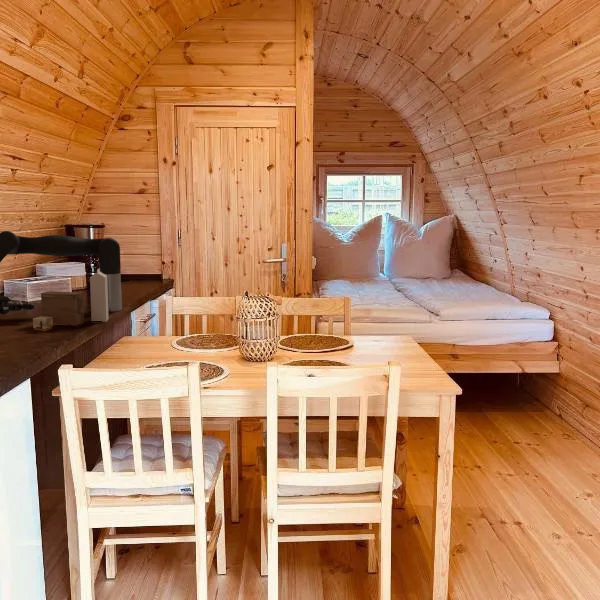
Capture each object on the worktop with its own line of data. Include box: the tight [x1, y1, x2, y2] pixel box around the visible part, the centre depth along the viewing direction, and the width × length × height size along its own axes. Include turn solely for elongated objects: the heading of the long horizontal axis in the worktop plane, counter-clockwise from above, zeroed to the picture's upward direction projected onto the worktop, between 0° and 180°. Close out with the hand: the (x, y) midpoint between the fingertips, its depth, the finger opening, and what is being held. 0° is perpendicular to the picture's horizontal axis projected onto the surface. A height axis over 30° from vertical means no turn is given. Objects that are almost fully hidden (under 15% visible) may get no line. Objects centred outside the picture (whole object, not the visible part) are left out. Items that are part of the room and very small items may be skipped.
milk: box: [89, 267, 109, 323], centre depth 248 cm, size 6×6×22 cm
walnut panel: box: [40, 290, 85, 325], centre depth 240 cm, size 6×15×13 cm, turn 79°
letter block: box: [32, 315, 54, 329], centre depth 229 cm, size 5×5×5 cm
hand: (33, 306), depth 243 cm, fingers closed
